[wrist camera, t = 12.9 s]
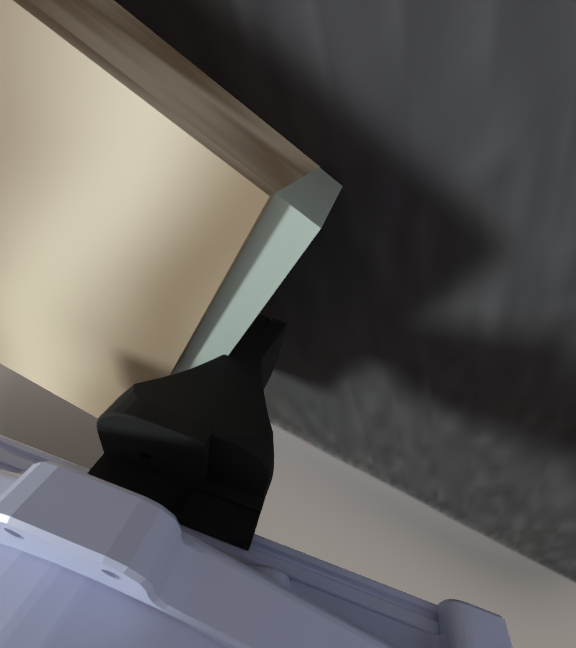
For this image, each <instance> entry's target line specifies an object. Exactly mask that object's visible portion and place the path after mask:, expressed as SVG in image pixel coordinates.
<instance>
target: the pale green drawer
mask: <svg viewBox="0 0 576 648" xmlns="http://www.w3.org/2000/svg"><path fill="white" fill-rule="evenodd" d="M342 187H343V186H342V185H341V184H339V183H338V182H337V181H336V180H334V179H333V178H332V177H331V176H329V175H328V174H327V173H326V172H325V171H323V170H322V169H321V168H320V167H319V168H317V169H316V170H314V171H312V172H310V173H309V174H307V175H305V176H304V177H302V178H300V179H298V180H297V181H295V182H293V183H292V184H290V185H288V186H286V187H285V188H283V189H281V190H279V191H278V192H276V193H275V194H274V196H273V198H272V199H271V201H270V203H269V205H268V206H267V208H266V210H265V212H264V213H263V215H262V217H261V219H260V221H259V222H258V224H257V226H256V228H255V229H254V231H253V233H252V235H251V236H250V238H249V240H248V242H247V243H246V245H245V247H244V249H243V250H242V252H241V254H240V256H239V258H238V259H237V261H236V263H235V265H234V266H233V268H232V270H231V272H230V273H229V275H228V277H227V279H226V280H225V282H224V284H223V286H222V287H221V289H220V291H219V293H218V295H217V296H216V298H215V300H214V302H213V303H212V305H211V307H210V309H209V310H208V312H207V314H206V316H205V317H204V319H203V321H202V323H201V324H200V326H199V328H198V330H197V332H196V333H195V335H194V337H193V339H192V340H191V342H190V344H189V346H188V347H187V349H186V351H185V353H184V354H183V356H182V358H181V360H180V361H179V363H178V365H177V367H176V369H175V370H174V372H173V374H176V373H179V372H182V371H185V370H188V369H191V368H194V367H196V366H199V365H201V364H203V363H206V362H208V361H210V360H213V359H215V358H217V357H219V356H221V355H227V356H228V355H229V354H230V352H231V351H232V350H233V348H234V347H235V346H236V344H237V343H238V341H239V340H240V339H241V337H242V336H243V335H244V333H245V332H246V330H247V329H248V328H249V326H250V325H251V324H252V322H253V321H254V320H255V318H256V317H257V315H258V314H259V313H260V311H261V310H262V309H263V307H264V306H265V304H266V303H267V302H268V300H269V299H270V298H271V296H272V295H273V294H274V292H275V291H276V289H277V288H278V287H279V285H280V284H281V283H282V281H283V280H284V278H285V277H286V276H287V274H288V273H289V272H290V270H291V269H292V268H293V266H294V265H295V263H296V262H297V261H298V259H299V258H300V257H301V255H302V254H303V252H304V251H305V250H306V248H307V247H308V246H309V244H310V243H311V242H312V240H313V239H314V237H315V236H316V235H317V233H318V232H319V231H320V229H321V228H322V226H323V224H324V222H325V220H326V218H327V216H328V214H329V212H330V210H331V208H332V206H333V204H334V202H335V200H336V198H337V196H338V194H339V192H340V190H341V189H342ZM173 374H172V375H173Z"/></svg>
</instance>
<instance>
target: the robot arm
mask: <svg viewBox="0 0 576 648" xmlns="http://www.w3.org/2000/svg"><path fill="white" fill-rule="evenodd" d="M286 325H287V323H284V322H281V321H278V320H275V319H273V320H271V321H270V319H269V318H268V317H266V316H262V315H259V314H258V315H257V317H256V318H255V320H254V321H253V322H252V324H251V325H250V326H249V328H248V329H247V330H246V332H245V333H244V335H243V336H242V337H241V339H240V340H239V341H238V343H237V344H236V346H235V347H234V348H233V350H232V351H231V352H230V354H229V355H228V356H227V355H221V356H219V357H217V358H215V359H213V360H210V361H208V362H206V363H203V364H201V365H199V366H196V367H194V368H191V369H188V370H185V371H182V372H179V373H176V374H173V375H169V376H165V377H162V378H157V379H153V380H149V381H144V382H140V383H135V384H133V385H132V386H131V387H130V388H129V389H127V390H126V391H125V392H124V393H123V394H122V395H121V396H119V397H118V398H117V399H116V400H115V401H114V402H113V403H112V404H111V405H110V406H109V407H108V408H107V409H106V411H105V412H104V413H103V414H102V415H101V416H100V417H99V418H98V421H97V430H98V434H99V438H100V441H101V444H102V447H103V450H104V454H103V455H102V457H101V458H100V459H99V460H98V461H97V462H96V464H95V465H94V466H93V467H92V468H91V469H90V470H89V469H86V468H84V467H82V466H79V465H76V464H74V463H71V462H69V461H66V460H64V459H61V458H59V457H56V456H53V455H51V454H48V453H46V452H43V451H41V450H38V449H35V448H33V447H30V446H28V445H25V444H23V443H20V442H17V441H15V440H12V439H10V438H7V437H5V436H2V435H0V648H512V644H511V641H510V637H509V634H508V630H507V627H506V623H505V620H504V619H503V618H502V617H501V616H500V615H497V614H495V613H492V612H490V611H487V610H484V609H481V608H479V607H477V606H474V605H471V604H469V603H466V602H464V601H460V600H455V599H447V600H444V601H442V602H440V603H439V604H438V605H435V604H433V603H430V602H428V601H425V600H422V599H420V598H417V597H415V596H412V595H410V594H407V593H405V592H402V591H400V590H397V589H394V588H391V587H389V586H387V585H384V584H381V583H379V582H376V581H374V580H371V579H369V578H366V577H364V576H361V575H358V574H356V573H353V572H351V571H348V570H346V569H343V568H341V567H338V566H335V565H333V564H330V563H328V562H325V561H323V560H320V559H317V558H315V557H312V556H309V555H307V554H305V553H302V552H300V551H297V550H294V549H292V548H289V547H287V546H284V545H281V544H279V543H276V542H274V541H271V540H269V539H266V538H264V537H261V536H258V535H256V534H254V533H255V529H256V526H257V522H258V519H259V515H260V513H261V510H262V506H263V503H264V500H265V496H266V494H267V491H268V489H269V486H270V483H271V480H272V476H273V470H274V446H273V431H272V428H271V424H270V420H269V417H268V412H267V408H266V403H265V397H264V388H265V386H266V384H267V382H268V380H269V378H270V376H271V374H272V371H273V369H274V366H275V364H276V361H277V359H278V355H279V352H280V348H281V344H282V340H283V336H284V333H285V329H286Z"/></svg>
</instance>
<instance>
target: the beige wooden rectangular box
mask: <svg viewBox="0 0 576 648" xmlns="http://www.w3.org/2000/svg"><path fill="white" fill-rule="evenodd" d="M319 167H320V166H319V165H318V164H316V163H315V162H314V161H313V160H311V159H310V158H309V157H308V156H306V155H305V154H304V153H303V152H301V151H300V150H299V149H298V148H297V147H295V146H294V145H293V144H292V143H290V142H289V141H288V140H287V139H285V138H284V137H283V136H282V135H280V134H279V133H278V132H277V131H275V130H274V129H273V128H272V127H270V126H269V125H268V124H267V123H266V122H264V121H263V120H262V119H261V118H259V117H258V116H257V115H256V114H254V113H253V112H252V111H251V110H249V109H248V108H247V107H246V106H244V105H243V104H242V103H241V102H239V101H238V100H237V99H236V98H235V97H233V96H232V95H231V94H230V93H228V92H227V91H226V90H225V89H223V88H222V87H221V86H220V85H218V84H217V83H216V82H215V81H213V80H212V79H211V78H210V77H209V76H207V75H206V74H205V73H204V72H202V71H201V70H200V69H199V68H197V67H196V66H195V65H194V64H192V63H191V62H190V61H189V60H187V59H186V58H185V57H184V56H182V55H181V54H180V53H179V52H178V51H176V50H175V49H174V48H173V47H171V46H170V45H169V44H168V43H166V42H165V41H164V40H163V39H161V38H160V37H159V36H158V35H156V34H155V33H154V32H153V31H151V30H150V29H149V28H148V27H147V26H145V25H144V24H143V23H142V22H140V21H139V20H138V19H137V18H135V17H134V16H133V15H132V14H130V13H129V12H128V11H127V10H125V9H124V8H123V7H122V6H121V5H119V4H118V3H117V2H116V1H114V0H0V363H1V364H3V365H4V366H6V367H8V368H10V369H11V370H13V371H15V372H17V373H18V374H20V375H22V376H24V377H26V378H28V379H29V380H31V381H33V382H35V383H36V384H38V385H40V386H42V387H43V388H45V389H47V390H49V391H51V392H52V393H54V394H56V395H57V396H59V397H61V398H63V399H65V400H66V401H68V402H70V403H72V404H73V405H75V406H77V407H79V408H81V409H82V410H84V411H86V412H88V413H89V414H91V415H93V416H95V417H96V418H99V417H100V416H101V415H102V414H103V413H104V412H105V411H106V409H107V408H108V407H109V406H110V405H111V404H112V403H113V402H114V401H115V400H116V399H117V398H118V397H119V396H121V395H122V394H123V393H124V392H125V391H126V390H127V389H129V388H130V387H131V386H132V385H133V384H135V383H140V382H144V381H149V380H153V379H157V378H162V377H165V376H169V375H172V374H173V372H174V370H175V369H176V367H177V365H178V363H179V361H180V360H181V358H182V356H183V354H184V353H185V351H186V349H187V347H188V346H189V344H190V342H191V340H192V339H193V337H194V335H195V333H196V332H197V330H198V328H199V326H200V324H201V323H202V321H203V319H204V317H205V316H206V314H207V312H208V310H209V309H210V307H211V305H212V303H213V302H214V300H215V298H216V296H217V295H218V293H219V291H220V289H221V287H222V286H223V284H224V282H225V280H226V279H227V277H228V275H229V273H230V272H231V270H232V268H233V266H234V265H235V263H236V261H237V259H238V258H239V256H240V254H241V252H242V250H243V249H244V247H245V245H246V243H247V242H248V240H249V238H250V236H251V235H252V233H253V231H254V229H255V228H256V226H257V224H258V222H259V221H260V219H261V217H262V215H263V213H264V212H265V210H266V208H267V206H268V205H269V203H270V201H271V199H272V198H273V196H274V194H275V193H276V192H278V191H279V190H281V189H283V188H285V187H286V186H288V185H290V184H292V183H293V182H295V181H297V180H298V179H300V178H302V177H304V176H305V175H307V174H309V173H310V172H312V171H314V170H316V169H317V168H319Z"/></svg>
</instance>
